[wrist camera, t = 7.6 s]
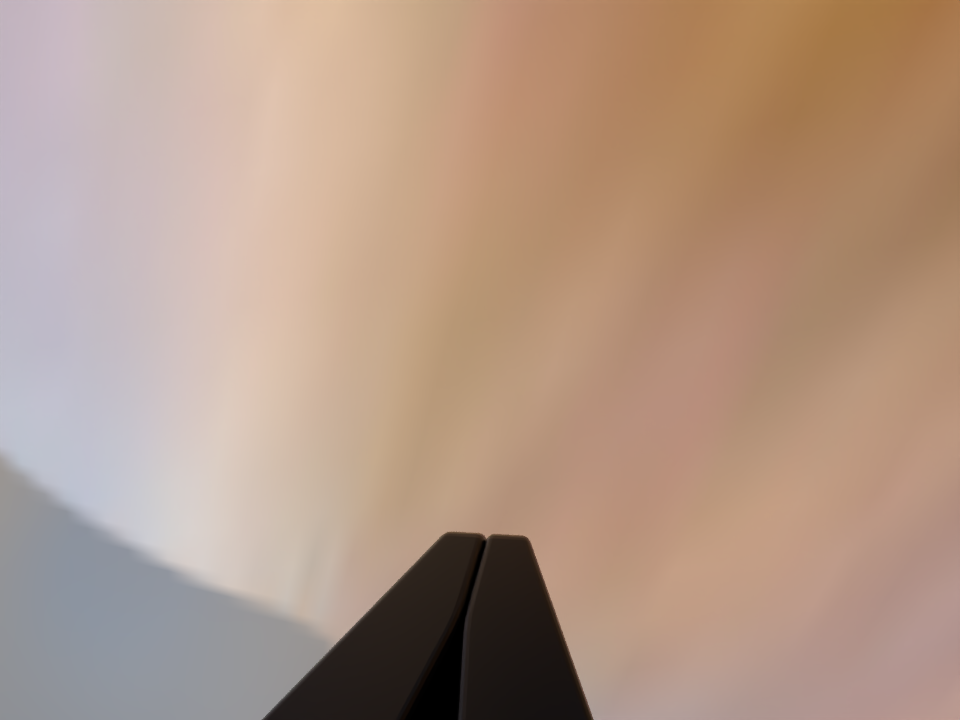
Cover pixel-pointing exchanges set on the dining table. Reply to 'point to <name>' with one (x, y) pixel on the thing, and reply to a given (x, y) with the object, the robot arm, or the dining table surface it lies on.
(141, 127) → the dining table surface
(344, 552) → the dining table surface
